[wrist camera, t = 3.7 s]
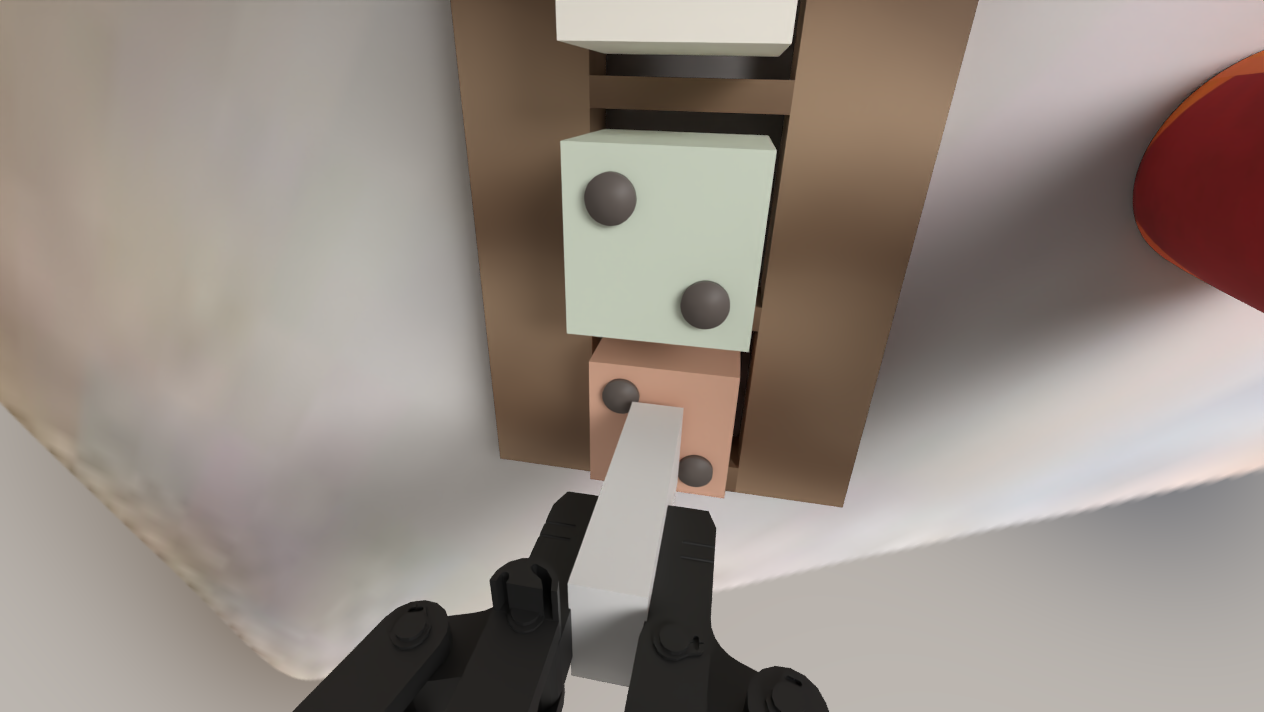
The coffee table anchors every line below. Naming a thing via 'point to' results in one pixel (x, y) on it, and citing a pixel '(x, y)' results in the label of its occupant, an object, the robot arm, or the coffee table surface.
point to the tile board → (797, 235)
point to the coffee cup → (1210, 184)
